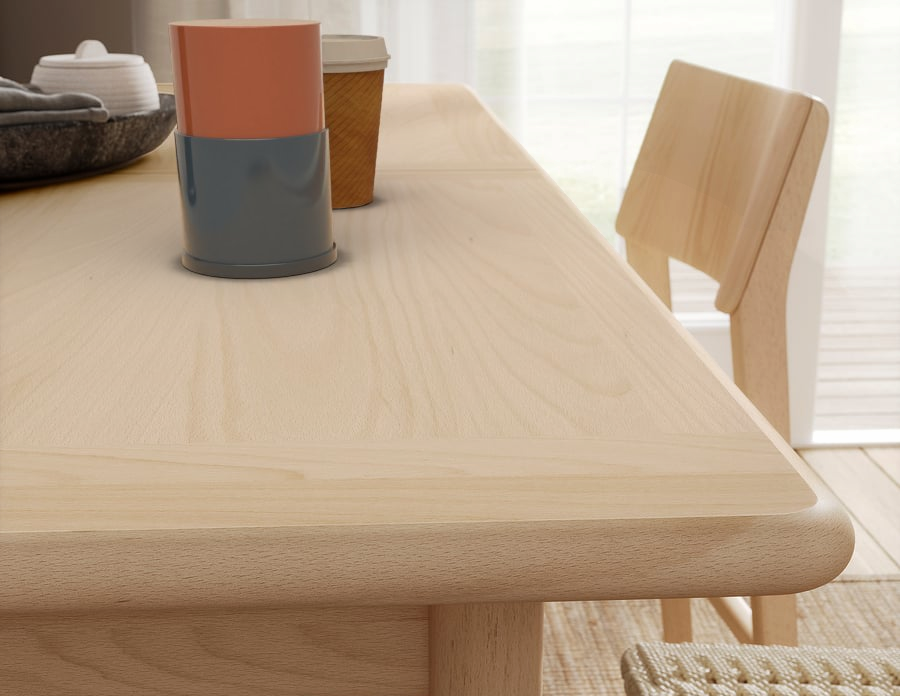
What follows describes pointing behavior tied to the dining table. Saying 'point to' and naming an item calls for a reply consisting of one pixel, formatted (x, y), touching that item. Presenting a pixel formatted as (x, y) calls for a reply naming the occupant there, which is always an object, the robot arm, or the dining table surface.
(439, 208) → the dining table surface
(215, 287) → the dining table surface
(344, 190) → the disposable coffee cup
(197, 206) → the cup stack
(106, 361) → the dining table surface
